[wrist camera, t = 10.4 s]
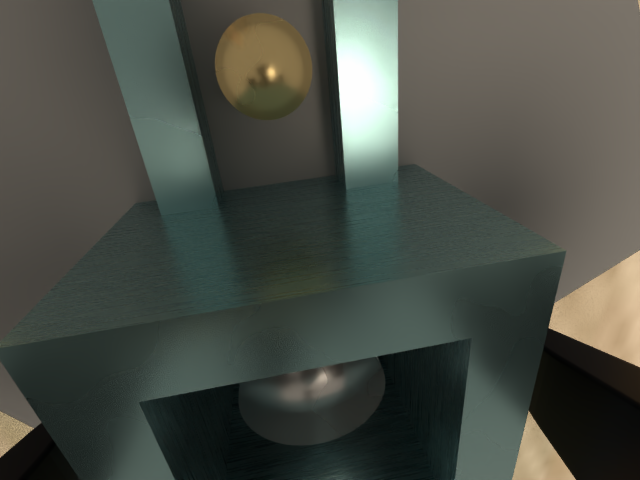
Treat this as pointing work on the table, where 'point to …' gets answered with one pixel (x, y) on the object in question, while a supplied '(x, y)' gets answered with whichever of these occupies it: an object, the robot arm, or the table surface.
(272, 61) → the shiny brass sphere
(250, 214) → the teal collar
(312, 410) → the grey metallic rounded piece
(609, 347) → the table surface
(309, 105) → the post board
